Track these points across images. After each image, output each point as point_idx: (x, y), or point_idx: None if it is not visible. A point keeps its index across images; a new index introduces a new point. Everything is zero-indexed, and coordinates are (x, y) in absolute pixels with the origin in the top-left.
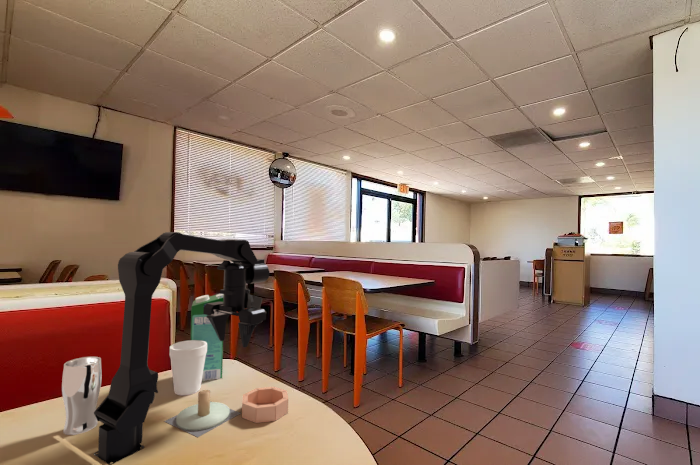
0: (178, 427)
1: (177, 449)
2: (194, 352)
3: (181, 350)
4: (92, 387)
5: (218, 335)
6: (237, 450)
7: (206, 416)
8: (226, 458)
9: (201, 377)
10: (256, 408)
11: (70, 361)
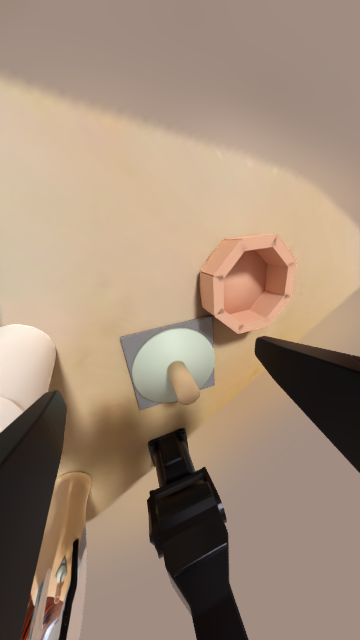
0: None
1: (210, 402)
2: None
3: None
4: (83, 570)
5: (54, 465)
6: None
7: (188, 368)
8: (263, 369)
9: (27, 345)
10: (268, 324)
11: None
